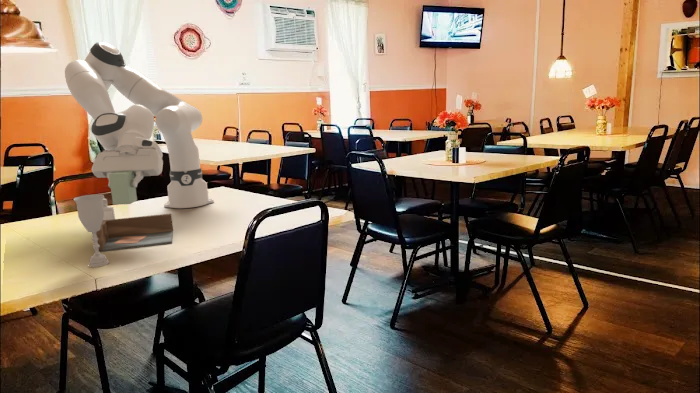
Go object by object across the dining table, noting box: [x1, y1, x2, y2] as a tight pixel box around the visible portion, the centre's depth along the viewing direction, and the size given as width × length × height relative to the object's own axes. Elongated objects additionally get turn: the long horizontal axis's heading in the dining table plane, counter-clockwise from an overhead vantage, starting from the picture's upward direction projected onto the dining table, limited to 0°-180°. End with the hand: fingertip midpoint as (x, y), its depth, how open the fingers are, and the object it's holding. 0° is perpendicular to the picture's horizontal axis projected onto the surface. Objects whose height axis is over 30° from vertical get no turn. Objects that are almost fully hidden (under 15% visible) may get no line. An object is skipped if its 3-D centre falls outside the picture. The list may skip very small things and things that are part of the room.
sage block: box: [109, 171, 138, 206], centre depth 153 cm, size 5×5×9 cm
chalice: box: [73, 193, 110, 268], centre depth 135 cm, size 7×7×18 cm
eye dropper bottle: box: [102, 196, 116, 220], centre depth 170 cm, size 4×6×12 cm
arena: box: [96, 213, 174, 253], centre depth 157 cm, size 14×20×6 cm
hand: (122, 186), depth 153 cm, fingers closed on sage block, 5 cm apart
